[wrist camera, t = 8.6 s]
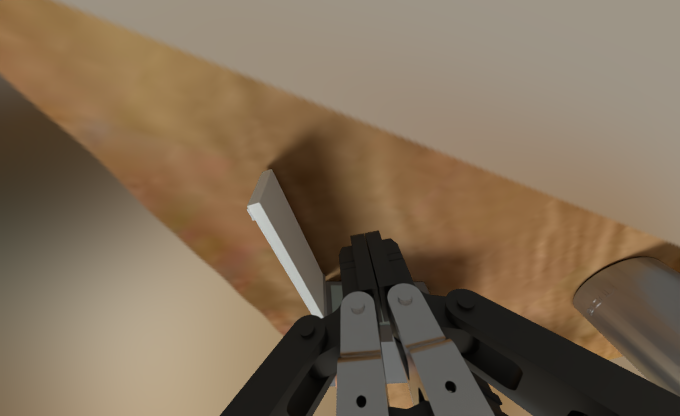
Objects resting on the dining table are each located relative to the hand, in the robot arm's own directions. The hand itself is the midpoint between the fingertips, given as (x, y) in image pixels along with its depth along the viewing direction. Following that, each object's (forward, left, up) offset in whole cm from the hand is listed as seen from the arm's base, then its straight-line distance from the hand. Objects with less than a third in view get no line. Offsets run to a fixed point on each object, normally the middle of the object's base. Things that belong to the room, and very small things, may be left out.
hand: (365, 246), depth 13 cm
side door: (+4, +4, -7) cm, 9 cm away
